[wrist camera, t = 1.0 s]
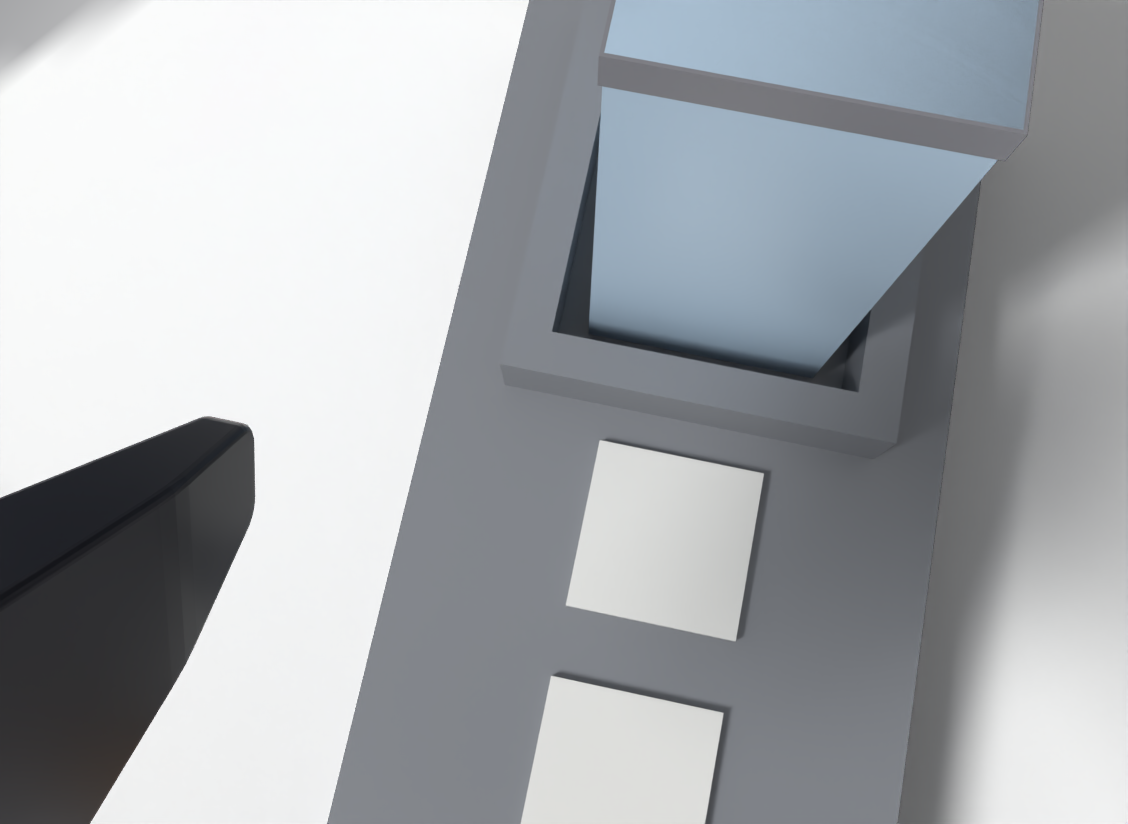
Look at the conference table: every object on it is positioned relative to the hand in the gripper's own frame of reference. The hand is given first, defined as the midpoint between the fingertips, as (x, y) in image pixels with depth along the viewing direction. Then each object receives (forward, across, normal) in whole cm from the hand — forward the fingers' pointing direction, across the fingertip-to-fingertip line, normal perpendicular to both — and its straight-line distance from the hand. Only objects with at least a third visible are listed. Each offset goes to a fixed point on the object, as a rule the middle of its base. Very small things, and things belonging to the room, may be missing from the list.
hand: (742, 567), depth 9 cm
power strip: (+12, 0, +7) cm, 14 cm away
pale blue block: (+13, 0, +2) cm, 14 cm away
